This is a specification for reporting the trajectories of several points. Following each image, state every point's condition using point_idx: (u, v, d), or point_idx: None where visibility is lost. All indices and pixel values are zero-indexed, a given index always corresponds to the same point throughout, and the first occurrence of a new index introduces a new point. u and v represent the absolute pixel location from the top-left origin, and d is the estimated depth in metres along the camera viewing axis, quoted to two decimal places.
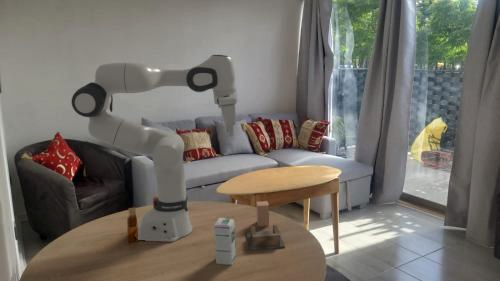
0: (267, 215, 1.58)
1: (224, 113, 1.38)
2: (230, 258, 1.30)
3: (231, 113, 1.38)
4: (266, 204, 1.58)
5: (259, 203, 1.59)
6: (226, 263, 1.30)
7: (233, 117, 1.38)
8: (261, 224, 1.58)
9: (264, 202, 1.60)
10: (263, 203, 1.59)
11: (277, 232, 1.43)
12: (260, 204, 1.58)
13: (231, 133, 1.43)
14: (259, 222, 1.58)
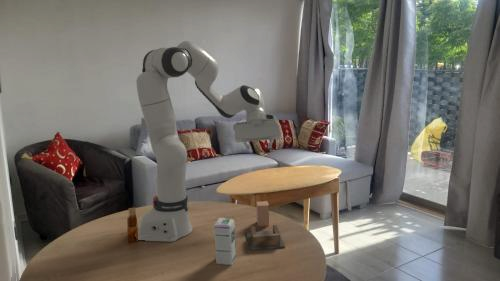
0: (267, 215, 1.58)
1: None
2: (230, 258, 1.30)
3: None
4: (266, 204, 1.58)
5: (259, 203, 1.59)
6: (226, 263, 1.30)
7: None
8: (261, 224, 1.58)
9: (264, 202, 1.60)
10: (263, 203, 1.59)
11: (277, 232, 1.43)
12: (260, 204, 1.58)
13: (271, 145, 1.66)
14: (259, 222, 1.58)
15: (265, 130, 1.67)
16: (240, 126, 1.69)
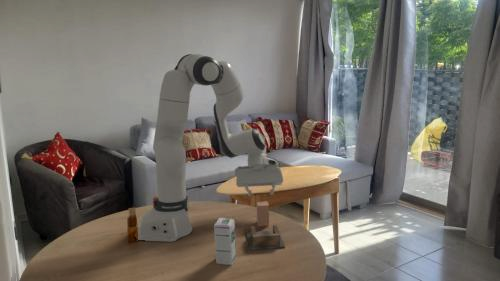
0: (267, 215, 1.58)
1: None
2: (230, 258, 1.30)
3: None
4: (266, 204, 1.58)
5: (259, 203, 1.59)
6: (226, 263, 1.30)
7: None
8: (261, 224, 1.58)
9: (264, 202, 1.60)
10: (263, 203, 1.59)
11: (277, 232, 1.43)
12: (260, 204, 1.58)
13: None
14: (259, 222, 1.58)
15: (267, 175, 1.67)
16: (242, 171, 1.67)
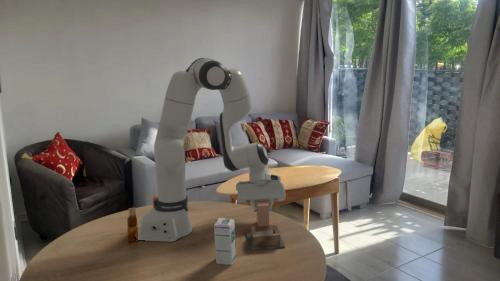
0: (267, 215, 1.58)
1: (283, 187, 1.63)
2: (230, 258, 1.30)
3: None
4: (266, 204, 1.58)
5: (259, 203, 1.59)
6: (226, 263, 1.30)
7: None
8: (261, 224, 1.58)
9: (264, 202, 1.60)
10: (263, 203, 1.59)
11: (277, 232, 1.43)
12: (260, 204, 1.58)
13: None
14: (259, 222, 1.58)
15: (269, 191, 1.62)
16: (244, 186, 1.62)
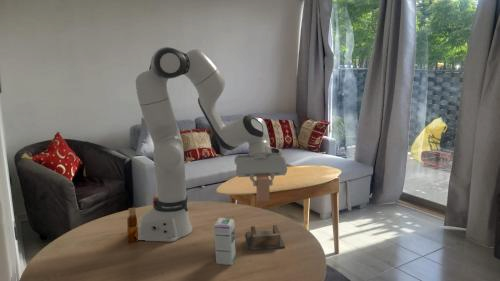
0: (267, 189, 1.49)
1: (285, 161, 1.54)
2: (230, 258, 1.30)
3: None
4: (266, 178, 1.49)
5: (259, 177, 1.50)
6: (226, 263, 1.30)
7: None
8: (261, 199, 1.50)
9: (264, 176, 1.51)
10: (264, 177, 1.50)
11: (277, 232, 1.43)
12: (260, 178, 1.49)
13: None
14: (259, 197, 1.49)
15: (270, 165, 1.53)
16: (243, 159, 1.53)
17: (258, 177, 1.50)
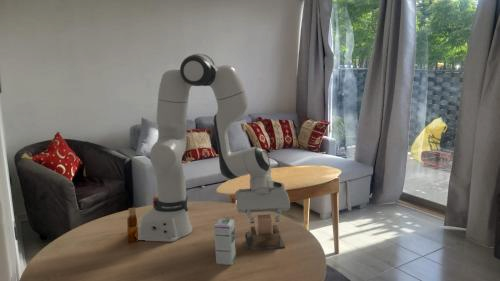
0: (270, 230, 1.43)
1: None
2: (230, 258, 1.30)
3: None
4: (268, 218, 1.43)
5: (261, 217, 1.44)
6: (226, 263, 1.30)
7: None
8: None
9: (266, 216, 1.45)
10: (266, 217, 1.44)
11: (277, 232, 1.43)
12: (262, 218, 1.43)
13: None
14: None
15: (272, 200, 1.46)
16: (244, 194, 1.47)
17: (260, 217, 1.44)
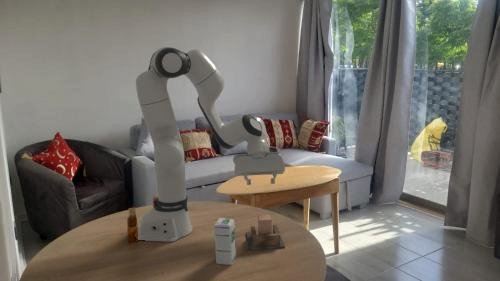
0: (270, 230, 1.43)
1: (283, 160, 1.56)
2: (230, 258, 1.30)
3: None
4: (268, 218, 1.43)
5: (261, 217, 1.44)
6: (226, 263, 1.30)
7: None
8: None
9: (266, 216, 1.45)
10: (266, 217, 1.44)
11: (277, 232, 1.43)
12: (262, 218, 1.43)
13: None
14: None
15: (268, 164, 1.55)
16: (241, 158, 1.55)
17: (260, 217, 1.44)
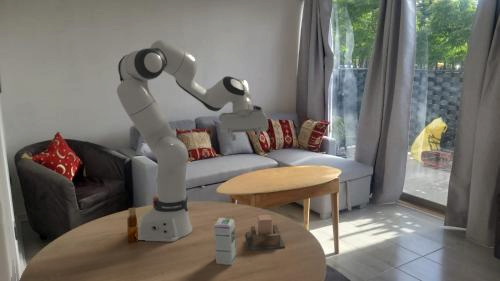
0: (270, 230, 1.43)
1: (266, 117, 1.64)
2: (230, 258, 1.30)
3: None
4: (268, 218, 1.43)
5: (261, 217, 1.44)
6: (226, 263, 1.30)
7: None
8: None
9: (266, 216, 1.45)
10: (266, 217, 1.44)
11: (277, 232, 1.43)
12: (262, 218, 1.43)
13: (258, 137, 1.61)
14: None
15: (252, 121, 1.62)
16: (226, 116, 1.63)
17: (260, 217, 1.44)
